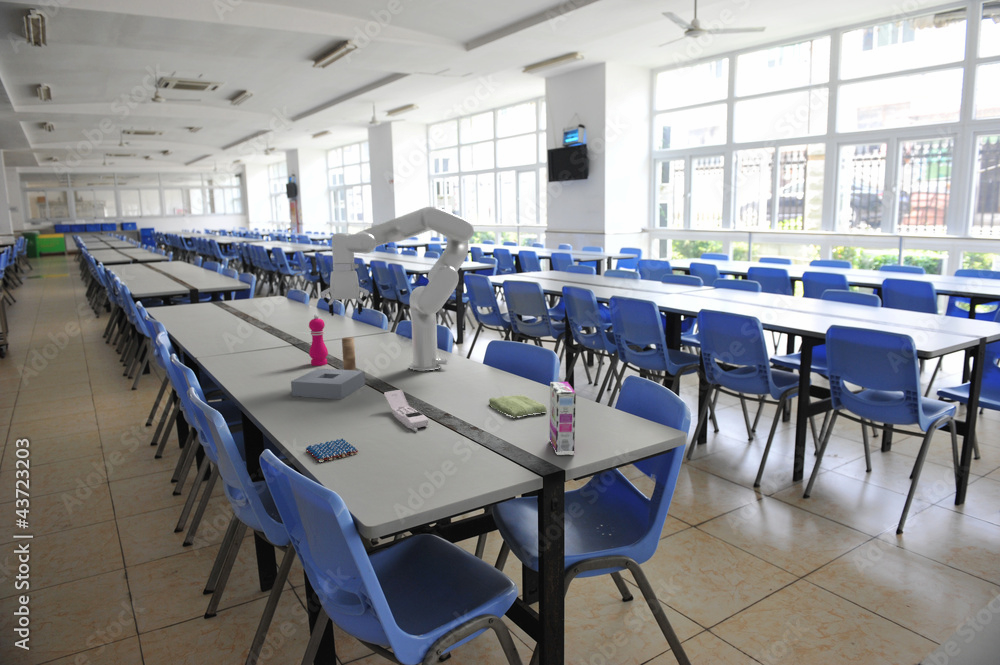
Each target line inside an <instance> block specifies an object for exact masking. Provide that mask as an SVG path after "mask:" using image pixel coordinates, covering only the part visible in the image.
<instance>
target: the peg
mask: <svg viewBox="0 0 1000 665" xmlns="http://www.w3.org/2000/svg"><path fill="white" fill-rule="evenodd" d="M341 346H342V347H341V348H342V350H341V351H342V365H343V370H357V369H356V368H357V366H356V350H355V347H356V346H355V337H351V336H350V337H349V336H348V337H347V336H346V337H342V338H341Z"/></svg>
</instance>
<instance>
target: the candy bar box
mask: <svg viewBox="0 0 1000 665" xmlns="http://www.w3.org/2000/svg"><path fill="white" fill-rule="evenodd" d="M549 384H550V393H549V438H550V440H551V442H552V445H553V447H554V448H555V450H556V452H560V451H561V452H562V451H574V452H575V438H576V436H575V435H576V434H575V431H576V430H575V429H576V404H577V403H576V399H577V398H576V396H577V393H576V391H575V389H573V387H572V386H571V384H570V383H569V381H550V383H549ZM552 445H551V446H552ZM553 447H552V448H553Z"/></svg>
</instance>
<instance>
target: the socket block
mask: <svg viewBox="0 0 1000 665" xmlns="http://www.w3.org/2000/svg"><path fill="white" fill-rule="evenodd" d="M290 385H291V386H290V387H291V396H292V397H299V396H301V397H302V398H317V399H319V398H320V399H333V400H334V399H336V400H343V399H345V398H346V397H347V396H349V395H351V394H352V393H354V392H356V391H357V390H359V389H361V388H362V387H363V386H365V385H366V378H365V370H357V369H356V370H344V369H336V368H335V369H334V368H316V369H315V368H314V369H313V370H311V371H310V372H307V373H305V374H303V375H301V376H299V377H297V378H295V379H293V380H291V381H290Z"/></svg>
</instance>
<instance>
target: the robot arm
mask: <svg viewBox="0 0 1000 665" xmlns="http://www.w3.org/2000/svg"><path fill="white" fill-rule="evenodd" d="M429 231H433V232H436V233H439V234H440V235H442V236H445V237H446V246H445V248H444V250H443V252H442V253H441V255H440V256H439V257H438V259H437V261H435V263H434V264H433V265H432V267H431V268H430V270H429V271H428V274H427V280H428V283H427V285H426V286H425V285H421V286H417V287H415V288H414V289H413V290H412V291H411V293H410V295H409V310H410V319H411V342H412V343H411V346H412V363H410V364H409V365H408V369H409V368H411V369H414V370H430V369H435V368H439V367H441V366H442V367H443V365H444V366H446V365H447V366H448V364H449V360H448V359H447V358H441V357H440V355H439V354H438V331H437V330H438V329H437V328H438V327H437V326H438V325H437V314H436V313H438V312H439V311H440V310H441V309H442V307H443V306H444V305H445V304H446V302H447V301H448V299H449V298H450V297H451V295H452V294H453V293H454V292H455V289H456V288H457V287H458V284H459V279H460V275H459V273H458V271H459V270H460V268H461V266H462V265H463V264H464V261H465V260H466V258H467V256H468V254H469V253H468V252H469V241H470V240H471V239H472V238H473V236H474V226H473V224H472V223H471V222H470V221H469V220H467V219H465V218H464V217H460V216H459V215H456V214H453V213H452V212H449V211H447V210H445V209H443V208H441V207H439V206H426V207H423V208H420V209H418V210H415V211H412V212H410V213H407V214H404V215H401V216H398V217H396V218H393V219H390V220H388V221H385V222H383V223H379V224H376V225H374V226H371V227H369V228H367V229H362V230H361V231H358V232H356V233H355V234H353V233H352V234H351V233H347V232H340V233H338V232H336V233H334V234H332V236H331V250H332V251H331V252H332V253H331V254H332V270H333V271H330V280H329V283H330V284H329V287H328V288H327V289H324V290H323V291H321V292H320V296H321V298H322V299H323V301H324V302H325V303H327V304H328V311H329V314H330V315H331V317H333V316H334V315H335V314H334V313H335V312H334V304H333V303H334V302H335V300H356V301H357V314H358V315H361V314H362V312H363V303H364V302H365V301H366V300H367V298H368V296H369V295H370V291H369V290H368V289H365V288H363V287H361V286H360V283H359V276H358V273H357V271H356V269H359V268H360V267H359V266H360V265H359V264H358V263H355V254H356V253H358V254H365V255H367V254H371V253H372V252H373V251H375V250H376V248H377V247H379V246H382V245H386V244H390V243H396V242H397V243H398V242H401V241H406V240H408V239H412V238H413V237H416V236H419V235H422V234H425V233H427V232H429ZM360 292H361V293H364V294H363V296H362V297H360ZM329 293H330V299H329V298H328V297H327V296H326V295H327V294H329ZM442 367H441V368H442ZM411 369H410V370H411ZM414 370H413V371H414Z"/></svg>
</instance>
